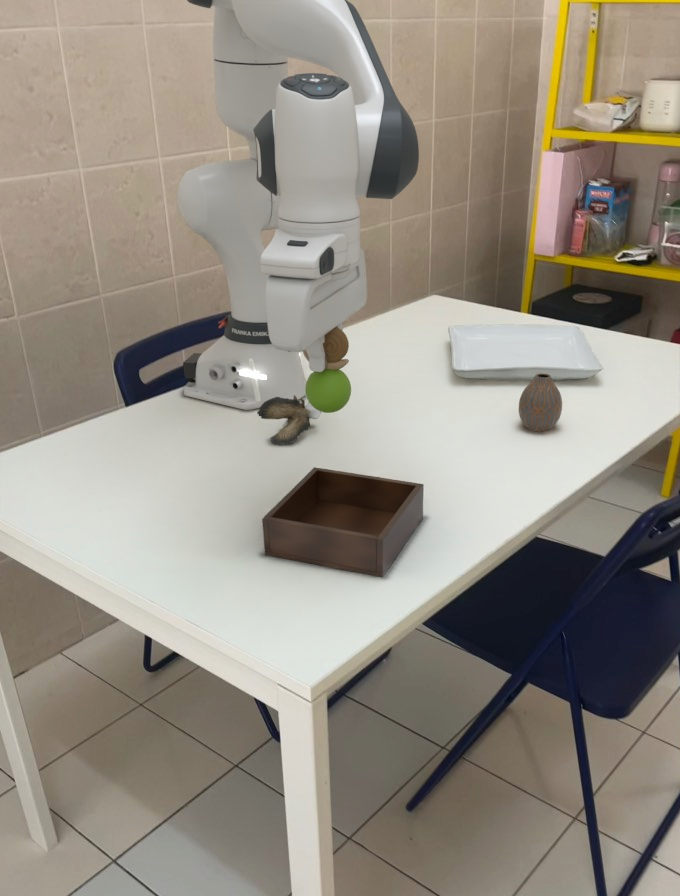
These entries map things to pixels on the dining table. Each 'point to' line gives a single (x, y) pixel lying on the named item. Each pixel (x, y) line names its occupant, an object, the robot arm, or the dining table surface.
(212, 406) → the dining table surface
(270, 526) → the crate
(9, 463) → the dining table surface
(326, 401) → the snail figurine
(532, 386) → the vase
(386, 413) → the dining table surface
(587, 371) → the square plate
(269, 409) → the eagle figurine
